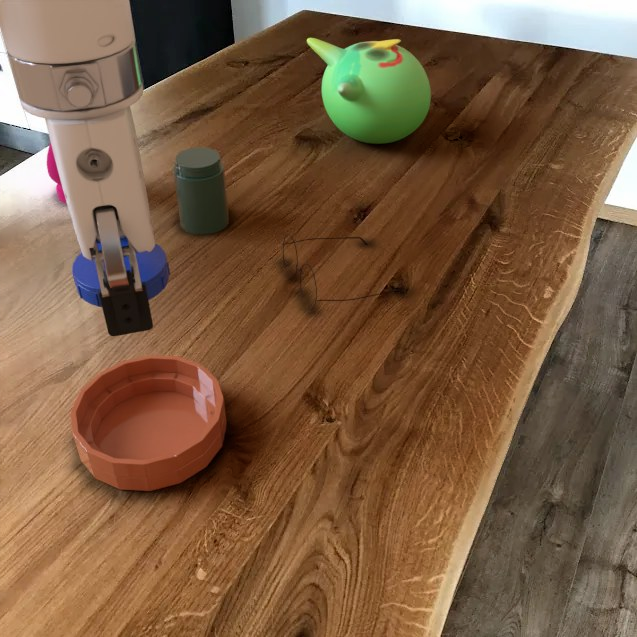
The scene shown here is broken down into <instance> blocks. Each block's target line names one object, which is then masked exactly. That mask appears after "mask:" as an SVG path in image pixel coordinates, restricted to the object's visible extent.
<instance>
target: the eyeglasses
mask: <svg viewBox="0 0 637 637" xmlns="http://www.w3.org/2000/svg"><path fill="white" fill-rule="evenodd" d="M288 236H289V237H290V238H291V239H292V242H285V240H286V238H287V237H288ZM336 239H337V240H338V239H344V237H315V238H306V239H300V240H296V241H295V239H294V238H293V236H292V235H291V234H286V235H285V236H284V238H283V243H282V244H281V245H282V259H283V266H284V267H285V268H286V261H285V254H284V253H285V252H284V251H285V250H284V248H285V247H284V246H285V245H291V244H293V245H294V248H295V254H296V264H295V268H296V269H295V273H294V275H293V276H290V278H291V279H294V278H295V277H296V276H297V272H300V273H299V287H300V288H299V289H300V294H301V297H302V298H304V295H303V290H302V275H304V272H303V268H304V266H308V267H309V270H311V273H312V276H313V279H314V285H315V300H314V304H313V307H312V308H308V310H314V308H315V306H316V304H317V302H345V301H346V302H347V301H354V300H360V299H365V298H370V297H375V296H379V295H383V294H390V293H394V292H398V291H399V293H401V294H402V295H403V294H405V292H404V291H403V290H402V289H400V288H398V289H397V288H396V289H393V290H388V291H385V292H381V293H376V294H369V295H365V296H361V297H356V298H349V299H317V296H318V289H317V281H316V276H315V273H314V271H313V269H312V267H311V265H310V264H309V263H304V264H302V266H301V268H300V267H299V266H298V265H299V261H298V260H299V258H298V257H299V256H298V250H297V245H296V243H299V242H304V241H305V242H306V241H312V240H336ZM345 239H349V240H351V239H353V240H354V239H359V240H361V241H362V242H363V244H364V245H365V246H368V245H369V243H367V241H365V240H364V239H363V238H362V237H361V236H350V237H349V236H346V237H345ZM298 267H299V268H298Z"/></svg>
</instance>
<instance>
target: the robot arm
mask: <svg viewBox="0 0 637 637" xmlns="http://www.w3.org/2000/svg"><path fill="white" fill-rule="evenodd" d="M132 16H133V15H132V10H131V2H130V0H0V32H1V36H2V40H3V43H4V47H5V50H6V54H7V58H8V62H9V66H10V69H11V72H12V77H13V80H14V83H15V87H16V90H17V96H18V98H19V103H20V105H21V107H22V109H23V110H25V112H27V113H28V114H29V115H32V116H35V117H37V118H43V119H44V122H45V125H46V130H47V133H48V138H49V142H50V141H51V145H52V149H53V153H54V157H55V161H56V165H57V169H58V173H59V176H60V180H61V184H62V188H63V191H64V195H65V198H66V202H67V204H66V205H67V208H68V212H69V216H70V219H71V222H72V226H73V230H74V232H75V236H76V239H77V242H78V245H79V248H80V251H81V253H82V254H83V256H84V257H85V258H87V259H89V260H91V261H93V257H94V259H95V264H96V269H97V274H98V279H99V283H100V288H101V289H98V290H99V296H100V300H101V304H102V307H101V308H102V313H103V317H104V320H105V326H106V330H107V333H108V335H109V336H110V337H118V336H125V335H130V334H135V333H141V332H145V331H146V332H147V331H150V330H152V329H153V327H154V322H153V318H152V312H151V307H150V300H148V296H147V290H146V285H145V282H141V279H140V273H139V268H138V263H137V258H136V250H137V251H138V252H144V251H148V252H151V251H152V250H153V248H154V247H155V243H156V240H155V239H156V238H155V234H154V229H153V221H152V215H151V210H150V204H149V199H148V193H147V187H146V181H145V175H144V168H143V163H142V158H141V157H142V156H141V152H140V146H139V140H138V137H137V136H138V134H137V131H136V127H135V126H136V125H135V121H134V118H133V113H132V108H131V106H132V105H135V103H137V102H138V101H139V100H140V99H141V97H143V94H144V86H143V79H142V72H141V65H140V59H139V53H138V47H137V40H136V34H135V28H134V22H133V17H132ZM121 238H127V239H128V245H129V246H123V247H122V245H121V240H120V239H121ZM100 242H101V247H102V250H99V246H98V243H100ZM126 256H128V257H129V262H130V267H131V272H132V273H131V272H130V270H126V266H125V261H124V257H126ZM104 263H105V265H104ZM105 269H106V270H105Z"/></svg>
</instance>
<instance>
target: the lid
mask: <svg viewBox="0 0 637 637" xmlns="http://www.w3.org/2000/svg"><path fill="white" fill-rule="evenodd" d="M120 240H121V245H122V247H123V246H129V245H128V239H127V238H121V239H120ZM98 246H99V250H102V247H101V242H100V243H98ZM136 258H137V263H138V268H139V273H140V279H141V282H145V285H146V290H147V296H148V301H150V300H152V299H154V298H155V297H157V296H158V295H160V294H161V292H163V291H164V290H165V289H166V287H167V285H168V283H169V279H170V275H171V272H170V271H171V270H170V265H169V264H170V263H169V262H168V259H167V254H166V251H165V249H163V247H162V246H160V245H159V244H158V243H156V242H155V247H154V248H153V250H152V251H151V252H148V251H144V252H138V251H137V250H136ZM124 261H125V266H126V270H130V272H131V267H130V262H129V257H128V256H126V257H124ZM104 265H105V263H104ZM105 270H106V269H105ZM71 272H72V273H71V274H72V278H73V282H74V286H75V287H76V291H77V294H78V295H79V298H80V299H82V300H84V302H86V303H88V304H90V305H93V306H95V307H98V308H102V304H101V300H100V296H99V290H98V289H101V288H100V283H99V279H98V274H97V269H96V264H95V259H94V257H93V261H91V260H89V259H87V258H85V257H84V256H83V254H82V252H80V254H78V255H77V256H76V257H75V259H74V261H73V263H72V267H71ZM131 273H132V272H131Z"/></svg>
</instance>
